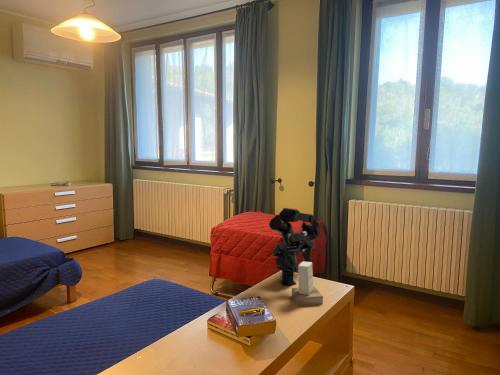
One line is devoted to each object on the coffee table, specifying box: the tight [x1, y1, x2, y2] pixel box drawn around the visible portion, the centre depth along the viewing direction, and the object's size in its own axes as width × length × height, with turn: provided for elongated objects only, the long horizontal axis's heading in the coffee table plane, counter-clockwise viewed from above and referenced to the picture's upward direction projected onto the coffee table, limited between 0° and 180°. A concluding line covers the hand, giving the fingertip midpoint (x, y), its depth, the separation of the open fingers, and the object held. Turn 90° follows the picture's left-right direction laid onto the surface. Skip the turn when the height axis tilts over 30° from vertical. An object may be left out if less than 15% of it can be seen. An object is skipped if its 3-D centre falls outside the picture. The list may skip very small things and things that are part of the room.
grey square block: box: [291, 286, 324, 307], centre depth 159 cm, size 10×10×4 cm
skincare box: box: [297, 261, 314, 295], centre depth 158 cm, size 6×4×12 cm
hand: (300, 266), depth 161 cm, fingers open, 9 cm apart
